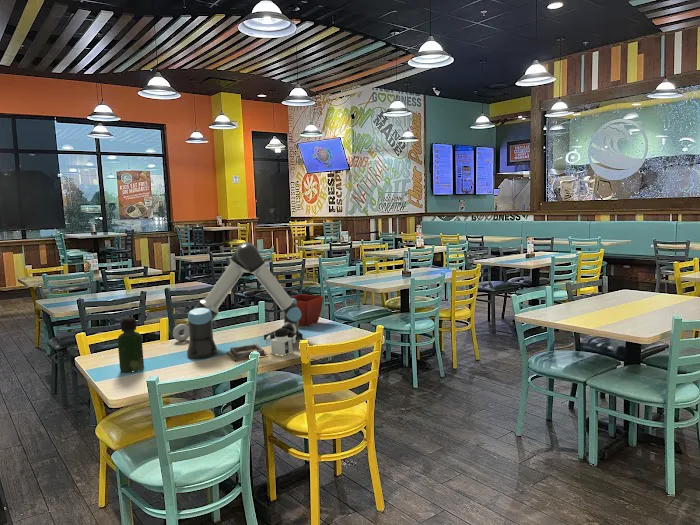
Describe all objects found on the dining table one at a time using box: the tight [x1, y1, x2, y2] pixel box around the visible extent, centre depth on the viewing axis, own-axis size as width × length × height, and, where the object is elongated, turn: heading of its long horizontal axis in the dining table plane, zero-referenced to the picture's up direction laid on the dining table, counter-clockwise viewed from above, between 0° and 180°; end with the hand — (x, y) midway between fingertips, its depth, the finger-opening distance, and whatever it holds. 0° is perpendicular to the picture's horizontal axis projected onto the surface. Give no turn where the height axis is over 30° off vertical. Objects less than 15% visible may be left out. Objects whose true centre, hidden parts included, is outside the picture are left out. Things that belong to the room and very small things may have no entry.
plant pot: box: [289, 294, 324, 327], centre depth 324 cm, size 19×19×17 cm
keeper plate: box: [226, 343, 269, 362], centre depth 260 cm, size 17×17×3 cm
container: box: [270, 327, 293, 356], centre depth 260 cm, size 8×8×13 cm
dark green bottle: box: [117, 316, 145, 373], centre depth 241 cm, size 10×10×25 cm
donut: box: [172, 323, 190, 342], centre depth 292 cm, size 10×3×10 cm, turn 126°
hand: (280, 340), depth 256 cm, fingers open, 13 cm apart
